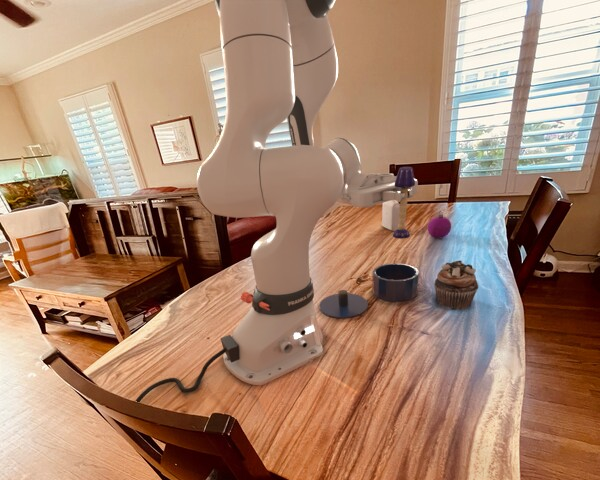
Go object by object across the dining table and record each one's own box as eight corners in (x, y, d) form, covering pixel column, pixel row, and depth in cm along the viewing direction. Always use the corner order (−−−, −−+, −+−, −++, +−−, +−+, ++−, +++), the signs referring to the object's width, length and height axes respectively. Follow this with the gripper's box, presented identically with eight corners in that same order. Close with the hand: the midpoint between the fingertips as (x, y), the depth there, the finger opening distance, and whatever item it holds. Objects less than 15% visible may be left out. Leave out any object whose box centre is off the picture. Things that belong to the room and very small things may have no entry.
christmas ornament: (444, 233, 124) (447, 208, 119) (453, 239, 116) (457, 212, 112) (423, 235, 124) (425, 210, 119) (431, 242, 117) (434, 215, 112)
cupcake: (423, 299, 80) (427, 263, 75) (452, 289, 83) (457, 254, 78) (454, 315, 72) (460, 276, 67) (484, 304, 75) (492, 265, 70)
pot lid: (346, 326, 73) (345, 309, 71) (309, 310, 81) (308, 294, 79) (377, 305, 80) (378, 289, 78) (340, 292, 88) (340, 277, 86)
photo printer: (380, 226, 142) (381, 198, 136) (389, 224, 142) (390, 196, 136) (391, 231, 133) (392, 202, 127) (400, 230, 133) (402, 200, 127)
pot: (401, 308, 77) (403, 285, 74) (364, 296, 85) (364, 274, 82) (424, 291, 84) (427, 269, 81) (388, 281, 91) (388, 260, 88)
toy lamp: (414, 235, 81) (419, 165, 73) (406, 240, 78) (410, 169, 70) (397, 232, 84) (400, 166, 76) (388, 238, 81) (390, 169, 73)
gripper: (336, 184, 80) (375, 189, 69) (393, 172, 89) (435, 174, 78) (337, 209, 83) (375, 217, 72) (392, 195, 92) (433, 200, 81)
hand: (407, 195), depth 75 cm, fingers closed on toy lamp
